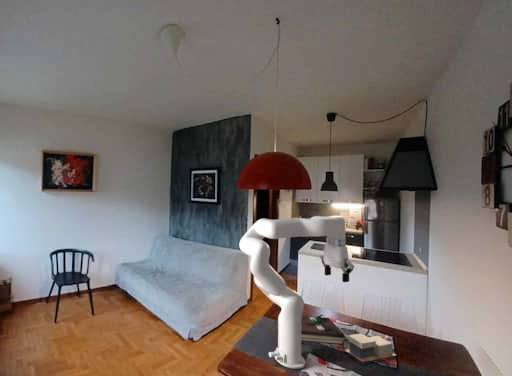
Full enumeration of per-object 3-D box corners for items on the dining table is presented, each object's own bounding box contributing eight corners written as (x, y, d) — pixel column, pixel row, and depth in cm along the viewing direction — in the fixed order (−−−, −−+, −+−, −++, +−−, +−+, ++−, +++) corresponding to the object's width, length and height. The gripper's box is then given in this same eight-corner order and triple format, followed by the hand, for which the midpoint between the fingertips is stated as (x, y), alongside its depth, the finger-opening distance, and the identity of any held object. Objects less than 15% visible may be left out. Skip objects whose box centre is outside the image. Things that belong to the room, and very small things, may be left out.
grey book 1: (360, 353, 117) (360, 347, 117) (349, 346, 121) (349, 341, 121) (373, 350, 119) (373, 345, 119) (363, 344, 123) (363, 339, 123)
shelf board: (362, 365, 114) (362, 361, 114) (344, 352, 123) (344, 349, 123) (396, 358, 119) (396, 355, 119) (376, 346, 128) (376, 343, 128)
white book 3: (379, 356, 118) (379, 351, 118) (364, 347, 125) (364, 342, 125) (392, 353, 120) (392, 348, 120) (377, 345, 127) (377, 340, 127)
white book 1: (361, 349, 116) (361, 343, 116) (347, 340, 122) (347, 335, 122) (375, 346, 118) (375, 341, 118) (361, 338, 124) (361, 333, 124)
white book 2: (379, 351, 118) (379, 345, 118) (364, 342, 125) (364, 337, 125) (392, 348, 120) (392, 343, 120) (377, 340, 127) (377, 335, 127)
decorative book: (275, 311, 149) (332, 315, 144) (275, 324, 149) (332, 329, 144) (285, 328, 130) (351, 334, 125) (285, 344, 130) (351, 350, 125)
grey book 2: (359, 358, 117) (360, 353, 117) (349, 351, 121) (349, 346, 121) (373, 355, 119) (373, 350, 119) (363, 349, 123) (363, 344, 123)
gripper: (314, 239, 131) (315, 273, 131) (346, 246, 114) (347, 285, 114) (327, 238, 133) (327, 272, 133) (359, 245, 116) (360, 283, 116)
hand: (336, 278), depth 123 cm, fingers open, 9 cm apart
